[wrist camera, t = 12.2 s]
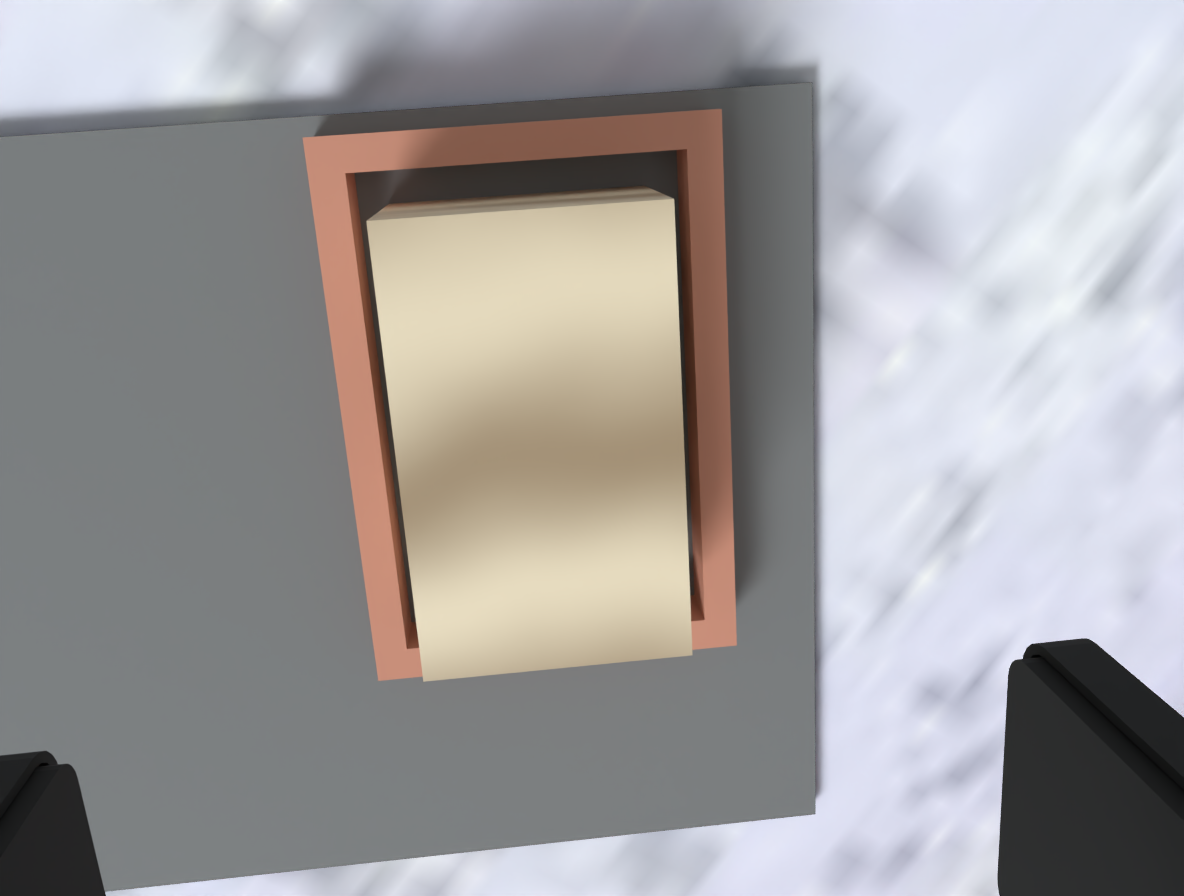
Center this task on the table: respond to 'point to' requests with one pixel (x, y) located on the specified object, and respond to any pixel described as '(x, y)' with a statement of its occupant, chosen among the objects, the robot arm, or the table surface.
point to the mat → (373, 492)
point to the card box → (537, 426)
